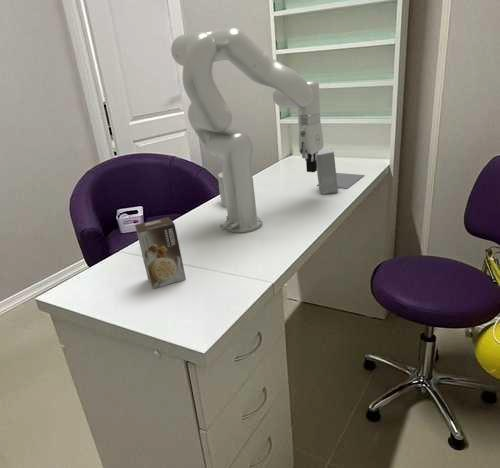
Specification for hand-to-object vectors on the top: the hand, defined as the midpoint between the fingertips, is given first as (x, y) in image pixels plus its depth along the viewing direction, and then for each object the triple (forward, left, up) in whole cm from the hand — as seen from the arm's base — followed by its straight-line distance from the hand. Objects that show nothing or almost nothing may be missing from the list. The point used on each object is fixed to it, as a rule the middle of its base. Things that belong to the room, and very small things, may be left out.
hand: (311, 171), depth 152 cm
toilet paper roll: (-11, +27, -12) cm, 31 cm away
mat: (+25, 0, -11) cm, 27 cm away
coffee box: (-67, +9, -11) cm, 69 cm away
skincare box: (+12, 0, -11) cm, 16 cm away
